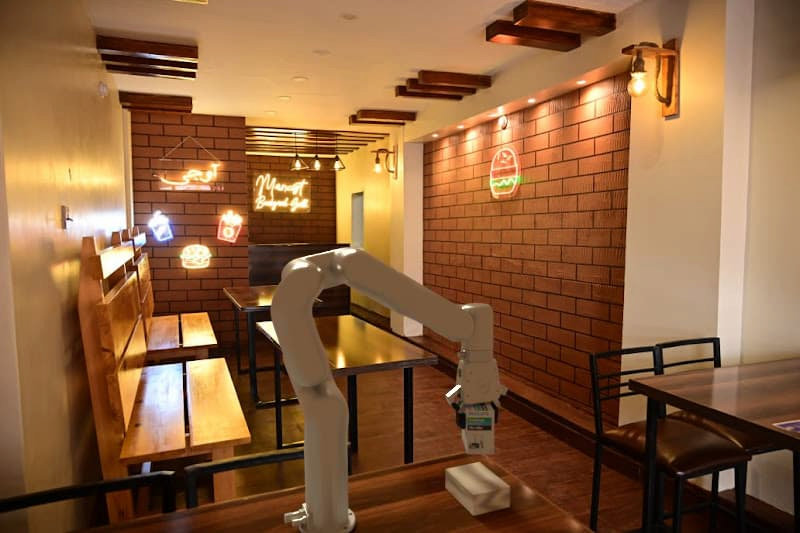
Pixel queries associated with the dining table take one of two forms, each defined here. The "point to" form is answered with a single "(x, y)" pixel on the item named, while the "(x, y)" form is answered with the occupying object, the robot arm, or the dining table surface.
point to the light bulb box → (479, 429)
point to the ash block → (477, 488)
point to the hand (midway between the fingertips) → (477, 424)
